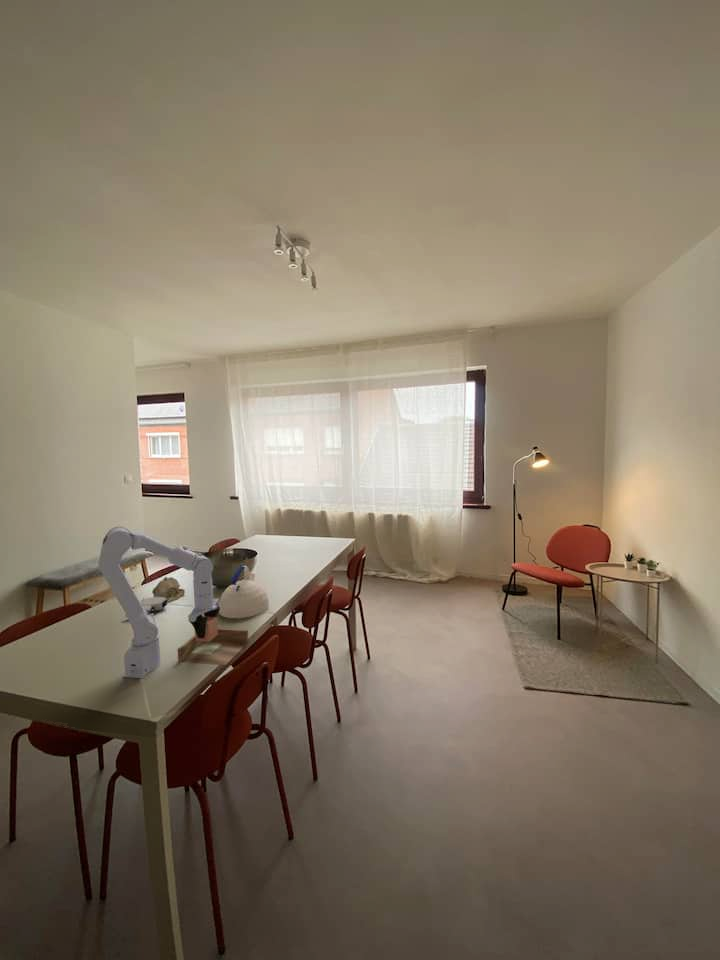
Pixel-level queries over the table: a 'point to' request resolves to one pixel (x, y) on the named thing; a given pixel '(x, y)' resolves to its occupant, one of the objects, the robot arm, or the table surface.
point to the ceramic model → (168, 589)
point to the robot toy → (153, 604)
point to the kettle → (243, 597)
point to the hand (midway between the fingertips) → (206, 633)
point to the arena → (214, 647)
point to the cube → (209, 630)
